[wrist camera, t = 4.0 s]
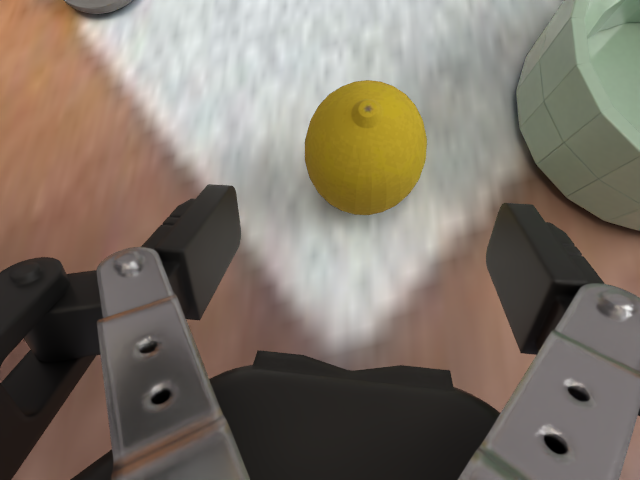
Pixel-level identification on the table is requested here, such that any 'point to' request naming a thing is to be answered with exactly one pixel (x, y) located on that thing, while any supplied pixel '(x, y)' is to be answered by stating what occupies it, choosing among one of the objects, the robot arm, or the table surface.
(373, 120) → the lemon
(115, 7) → the pocket watch
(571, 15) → the bowl
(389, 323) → the table surface
